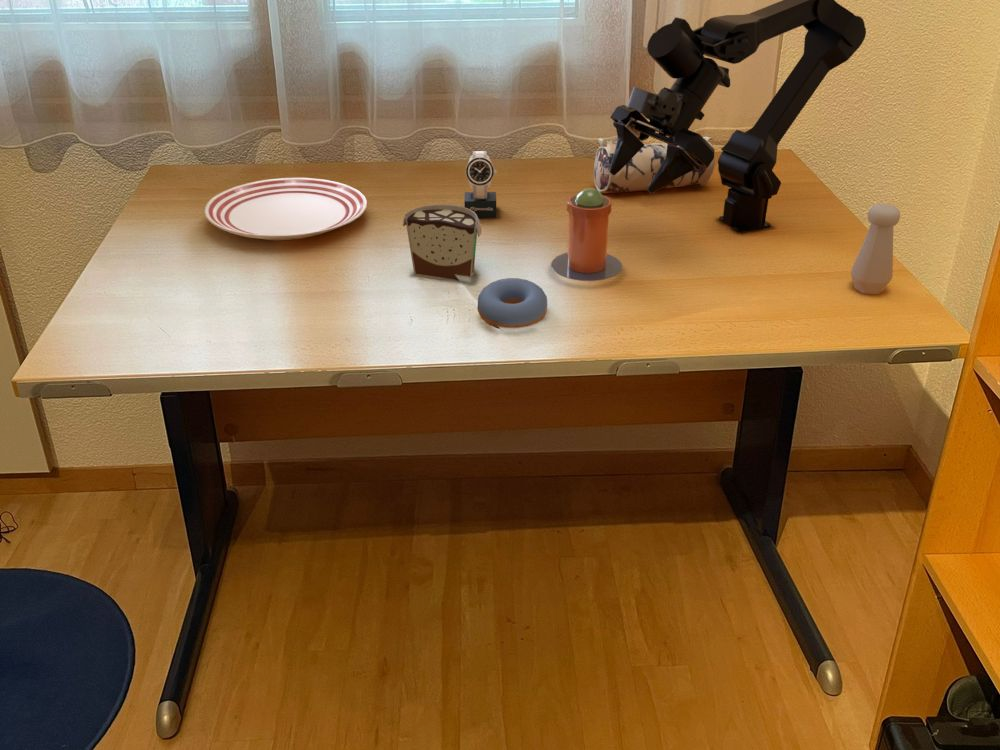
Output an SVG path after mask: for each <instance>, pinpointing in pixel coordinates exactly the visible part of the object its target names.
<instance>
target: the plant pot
mask: <svg viewBox="0 0 1000 750" xmlns="http://www.w3.org/2000/svg"><path fill="white" fill-rule="evenodd" d="M566 202H567V203H566V211H567V213H568V230H567V231H568V232H567V252H568V258H567V265H568V267H569V268H570V269H571V270H573V271H576V272H580V273H596V272H599V271H602V270H603V269H605V267H606V258H607V254H608V241H609V240H608V239H609V221H610V215H611V213H612V203H613V201H612V200H611V198H610V197H608V196H606V195H605V194H604V195H603V193H600V192H599V191H598V190H597V188H593V187H586V188H583V189H581V190H580V191H579V192H578V193H577V194H573V195H572V196H569V197H568V198H567V201H566Z"/></svg>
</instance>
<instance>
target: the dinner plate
mask: <svg viewBox="0 0 1000 750" xmlns="http://www.w3.org/2000/svg"><path fill="white" fill-rule="evenodd" d="M367 207H368V201H367V197H366V196H365V195H364V194H363V193H362V192H361V191H359V190H358V189H356V188H355V187H353V186H350V185H348V184H345V183H342V182H338V181H335V180H334V181H333V180H330V179H322V178H316V177H315V178H314V177H313V178H311V177H280V178H270V179H261V180H256V181H252V182H247V183H243V184H240V185H237V186H234V187H231V188H229V189H226V190H223V191H221V192H219V193H218V194H216V195H214V196H212V198H211V199H210V200H208V201H207V203H206V204H205V207H204V216H205V217H206V220H207V221H208V222H209V223H211V224H212V225H213V226H214V227H216V228H218V229H220V230H222V231H223V232H224V231H225V232H227V233H230V234H233V235H236V236H240V237H245V238H249V239H250V238H251V239H257V240H268V241H292V240H293V241H294V240H300V239H301V240H303V239H308V238H312V237H315V236H319V235H322V234H326V233H329V232H331V231H335V230H337V229H339V228H341V227H343V226H345V225H348V224H350V223H352V222H354V221H356V220H357V219H358V218H360V217H361V216H362V215H363V214H364V213H365V212H366V209H367Z"/></svg>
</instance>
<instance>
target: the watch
mask: <svg viewBox="0 0 1000 750" xmlns="http://www.w3.org/2000/svg"><path fill="white" fill-rule="evenodd" d="M497 174H498V171H497V169H495V166H494V164H493V163H492V161H491V158H490V155H487V151H486V150H474V151H472V155H470V157H469V159H468V163H466V166H465V177H466V179H467V182H468V184H469V187H470V190H471V191H465V192H464V207H465V208H468V209H470V210H472V211H473V212H475V213H476V215H477V217H478V219H497V191H488V190H490V189H491V185H492V183H493V179H494V177H495V175H497ZM472 190H473V191H472Z"/></svg>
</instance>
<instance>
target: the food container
mask: <svg viewBox="0 0 1000 750" xmlns="http://www.w3.org/2000/svg"><path fill="white" fill-rule="evenodd" d="M405 226H406V232H407V237H408V244H409V250H410V257H411V262H412V263H411V264H412V268H413V275H414V276H416V277H423V278H430V279H436V280H444V281H450V282H457V283H461V281H460V279H459V278H458V276H463V277H469V278H472V277H473V276H474V273H475V261H476V249H477V239H478V238H479V237H480V236H481V235H482V225H481V221H480V218H478V217H477V215H476V213H475V212H473V211H472V210H470V209H468V208H465V206H462V205H455V204H445V203H444V204H441V203H440V204H428V205H423V206H419V207H416V208H413V209H410V210H409V211H407V212H406V213H405V214H404V217H403V221H402V227H405ZM477 237H478V238H477Z"/></svg>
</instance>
